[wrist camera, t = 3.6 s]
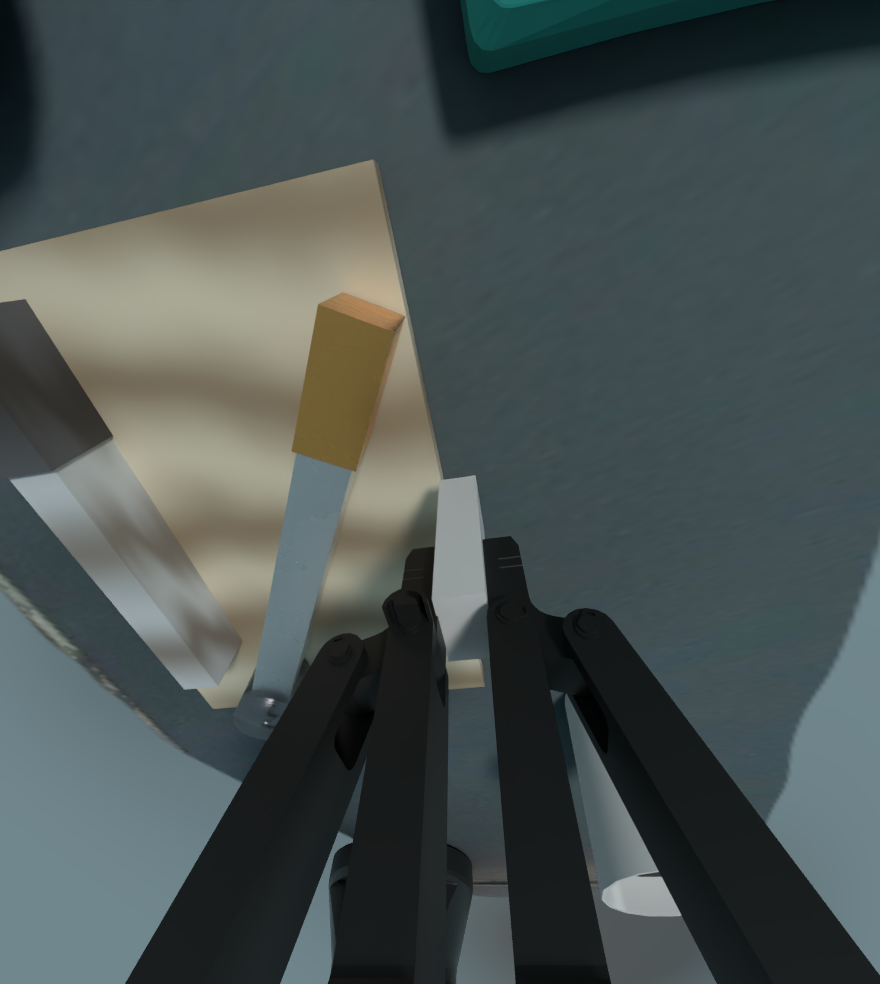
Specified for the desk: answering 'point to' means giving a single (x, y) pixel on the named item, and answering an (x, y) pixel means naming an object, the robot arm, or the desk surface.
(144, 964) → the robot arm
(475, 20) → the digital multimeter
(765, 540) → the desk surface
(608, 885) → the white coffee cup
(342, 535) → the board
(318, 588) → the bar
